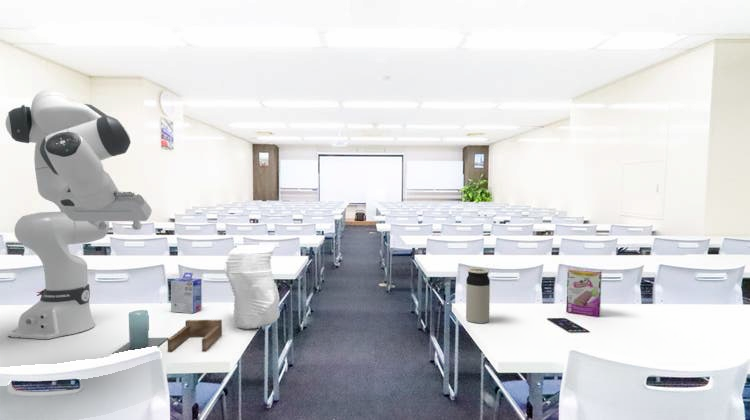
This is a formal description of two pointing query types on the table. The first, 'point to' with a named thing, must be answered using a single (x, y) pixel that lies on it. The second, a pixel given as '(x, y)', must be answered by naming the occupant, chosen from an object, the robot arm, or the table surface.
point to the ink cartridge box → (186, 294)
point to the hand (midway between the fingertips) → (120, 227)
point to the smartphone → (568, 325)
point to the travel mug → (477, 295)
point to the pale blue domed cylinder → (138, 329)
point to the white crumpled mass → (253, 286)
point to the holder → (197, 333)
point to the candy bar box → (584, 292)
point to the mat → (151, 343)
